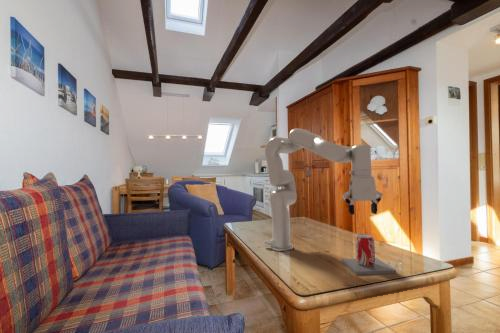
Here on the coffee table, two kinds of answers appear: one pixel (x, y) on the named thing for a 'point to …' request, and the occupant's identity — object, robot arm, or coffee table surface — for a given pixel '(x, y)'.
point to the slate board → (368, 267)
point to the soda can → (365, 250)
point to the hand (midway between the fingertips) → (362, 213)
